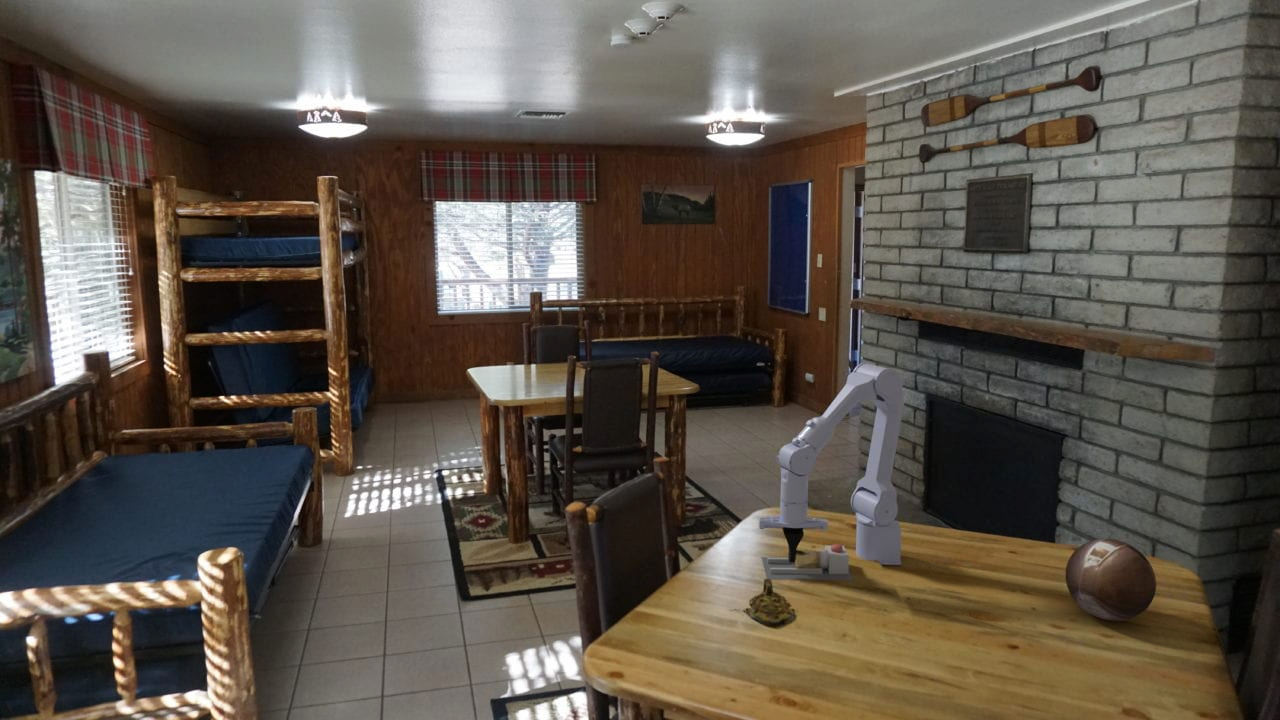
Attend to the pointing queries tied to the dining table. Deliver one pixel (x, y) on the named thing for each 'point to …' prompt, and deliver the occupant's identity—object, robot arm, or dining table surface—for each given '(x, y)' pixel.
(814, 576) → the valve board
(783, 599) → the seal
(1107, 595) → the wooden sphere
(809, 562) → the brass fitting
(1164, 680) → the dining table surface
